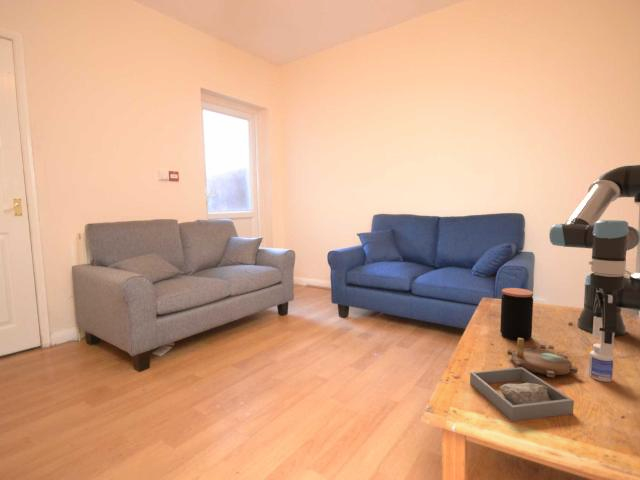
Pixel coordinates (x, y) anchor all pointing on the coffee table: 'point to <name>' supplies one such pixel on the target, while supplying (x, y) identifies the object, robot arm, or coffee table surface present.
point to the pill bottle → (600, 365)
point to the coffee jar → (516, 313)
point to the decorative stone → (524, 393)
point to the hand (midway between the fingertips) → (601, 345)
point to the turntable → (541, 360)
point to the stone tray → (555, 407)
